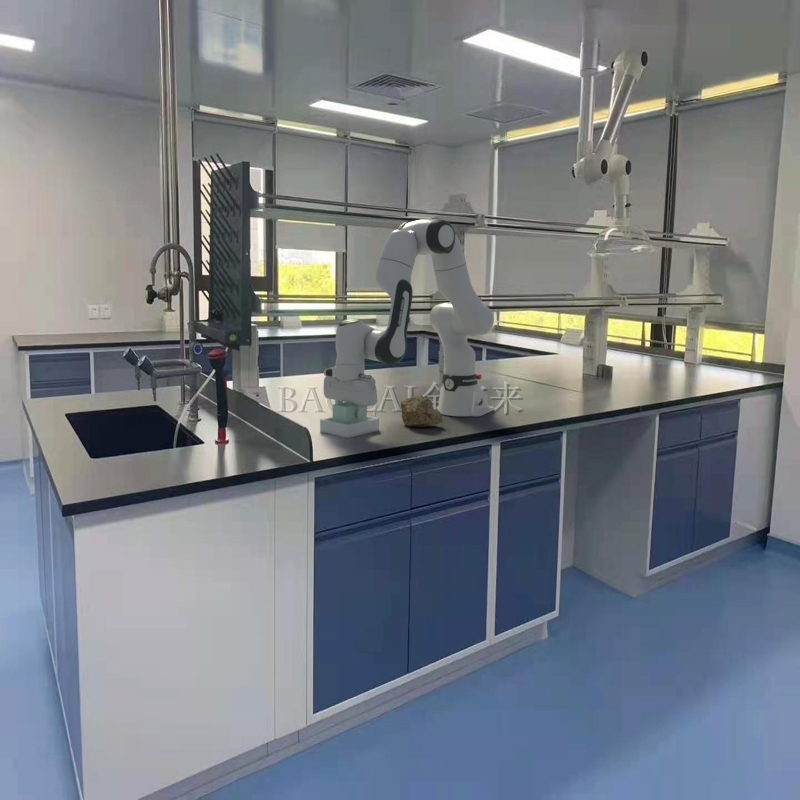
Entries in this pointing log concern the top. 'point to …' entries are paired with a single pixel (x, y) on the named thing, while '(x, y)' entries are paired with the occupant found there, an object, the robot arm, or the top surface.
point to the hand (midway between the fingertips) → (350, 416)
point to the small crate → (347, 413)
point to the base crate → (349, 427)
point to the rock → (419, 412)
